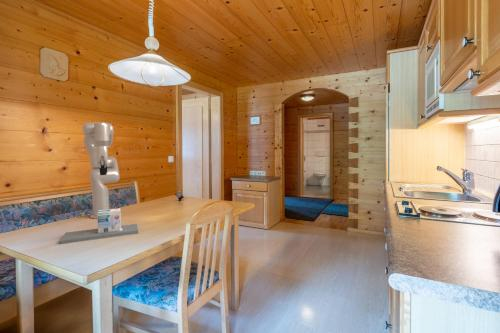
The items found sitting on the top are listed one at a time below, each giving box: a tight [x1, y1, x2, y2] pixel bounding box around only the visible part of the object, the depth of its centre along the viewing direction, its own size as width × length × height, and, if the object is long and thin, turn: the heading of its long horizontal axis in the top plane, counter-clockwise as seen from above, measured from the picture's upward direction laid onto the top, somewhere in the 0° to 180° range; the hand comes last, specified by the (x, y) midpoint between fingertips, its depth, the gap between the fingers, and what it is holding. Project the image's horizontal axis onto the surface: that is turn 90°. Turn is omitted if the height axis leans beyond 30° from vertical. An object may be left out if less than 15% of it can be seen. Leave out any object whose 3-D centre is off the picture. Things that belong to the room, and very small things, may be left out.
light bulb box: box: [97, 207, 122, 233], centre depth 139 cm, size 11×7×11 cm, turn 115°
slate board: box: [59, 223, 139, 245], centre depth 138 cm, size 14×34×2 cm, turn 116°
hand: (103, 174), depth 151 cm, fingers open, 9 cm apart
